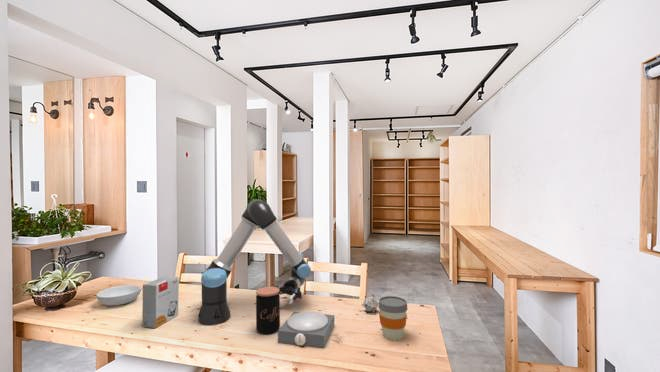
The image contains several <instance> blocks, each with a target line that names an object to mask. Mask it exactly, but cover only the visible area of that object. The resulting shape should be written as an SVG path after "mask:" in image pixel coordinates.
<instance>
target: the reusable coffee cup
mask: <svg viewBox="0 0 660 372" xmlns="http://www.w3.org/2000/svg"><path fill="white" fill-rule="evenodd" d="M377 308H378V309H379V312H378V316H379V322H380V323H379V324H380V325H381V332H382V336H383V338H385V339H386V340H390V341H400V340H402V339H403V338H404V332H405V327H406V325H407V318H408V314H407V311H408V302H407V300H406V299H405V298H402V297H400V296H395V295H387V296H382V297H380V298H379V300H378V306H377Z"/></svg>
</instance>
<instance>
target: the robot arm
mask: <svg viewBox="0 0 660 372" xmlns="http://www.w3.org/2000/svg"><path fill="white" fill-rule="evenodd" d="M245 208H246V209H244V212H243V213H242V214H241V221H240V223H239V224H238V226H237V228H236V229H235V231H234V232H233V234H232V235H231V237H230V238H229V240H228V241H227V243H226V244H225V246H224V247H223V249H222V251H221V253H220V254H219V255H218V258H214V259H212V261H211V262H210V264H209V266H208V267H207V268H206V269H205V270H204V271H203V272H202V274H201V279H200V281H201V306H200V309H199V312H198V315H197V322H198V323H199V324H200V325H204V326H211V325H212V326H213V325H218V324H219V325H220V324H222V323H224V322H227V321H229V320H230V318H231V309H230V308H229V304H228V301H227V300H228V299H227V295H228V293H227V291H228V290H227V288H228V287H227V286H228V285H227V282H228V281H227V280H228V278H229V276H230V275H231V273H232V271H233V267H232V266H233V265H234V263H235V261H236V260H237V258H238V256H239V255H240V254H241V252H242V250H243V249H244V247H245V246H246V243H248V241H249V239H250V238H251V236H252V235H253V234H254V231H255V230H256V229H257V228H260V229H261V230H263V231H265V232H266V234H267V235H268V236H269V238H270V239H271V241H272V242H273V244H275V246H276V247H277V249H278V250H279V251H280V253H281V254H282V255H283V257H284V258H285V259H286V262H287V263H289V266H290V278H289V279H288V280H286V281H285V282H284V283H283V285H282V286H279V285H276V286H275V287H277V288H279V290H280V292H279V295H281V296H282V295H285V294H286V295H287V296H290V297H289V300H288V301H289V302H288V303H289V305H292V303H293V302H294V301H296V300H298V299H300V300H301V299H302V297H303V295H302V292H301V287H302V286H303V285H304V284H305V282H306V279H307V278H309V276H310V275H311V273H312V269H311V267H310V265H309V264H308V263H307V262H306V260H305V258H304V254H303V253H300V252H299V251H298V249H297V247H295V245H294V244H293V242H292V241H291V240H290V238H289V236H288V235H287V234H286V232H285V231H284V229H282V227H281V225H280V224H279V223H278V221H277V220H278V218H277V216H276V215H275V214H274V212H273V210H272V208H271V207H270V204H269V203H268V202H266V201H265V200H262V199H260V198H259V199H257V198H256V199H252V200H250V201H249V203H248V204H247V205H246V207H245Z"/></svg>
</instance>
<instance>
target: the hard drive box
mask: <svg viewBox="0 0 660 372" xmlns="http://www.w3.org/2000/svg"><path fill="white" fill-rule="evenodd" d="M179 281H180V280H179V276H176V275H175V276H173V275H166V276H163V277H160V278H158V279H155V280H152V281H149V282H146V283H144V284H142V310H141V311H142V312H141V313H142V314H141V318H142V321H141V322H142V323H141V325H142V327H144V328H151V329H156V328H158V327H160V326H162V325H164V324H165V323H167V322H169V321H171V320H173V319H174V318H176V317H177V316H179V291H180V290H179V287H180V286H179Z"/></svg>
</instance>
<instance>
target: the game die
mask: <svg viewBox="0 0 660 372" xmlns="http://www.w3.org/2000/svg"><path fill="white" fill-rule="evenodd" d="M364 297H365V298H364V301H363V303H362V304H361V306H363V307H364V309H365V310H366V313H367V314H368V313H369V312H377V308H378V305H379V301H377V299H376V298H375V294H373V295H372V296H364Z"/></svg>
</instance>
